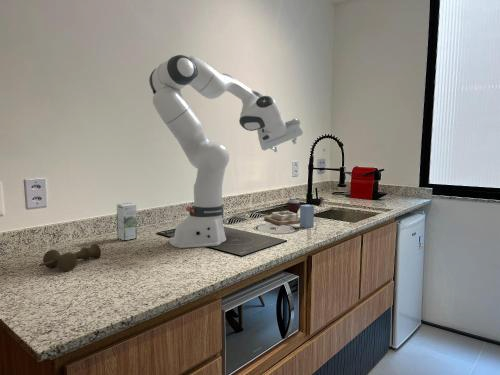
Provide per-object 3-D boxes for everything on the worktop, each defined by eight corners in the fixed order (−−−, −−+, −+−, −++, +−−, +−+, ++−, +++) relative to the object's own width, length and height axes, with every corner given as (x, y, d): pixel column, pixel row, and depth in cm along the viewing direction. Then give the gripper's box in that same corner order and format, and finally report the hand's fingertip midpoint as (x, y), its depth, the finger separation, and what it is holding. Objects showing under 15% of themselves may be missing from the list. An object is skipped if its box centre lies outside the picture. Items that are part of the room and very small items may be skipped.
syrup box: (130, 236, 157) (129, 202, 156) (137, 239, 153) (136, 203, 152) (117, 239, 153) (116, 203, 152) (124, 241, 149) (122, 205, 148)
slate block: (306, 228, 174) (306, 206, 173) (299, 226, 178) (300, 205, 176) (313, 227, 176) (314, 205, 175) (307, 225, 180) (307, 204, 179)
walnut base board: (279, 225, 179) (279, 217, 179) (264, 219, 192) (264, 212, 192) (305, 222, 186) (305, 214, 185) (289, 217, 199) (289, 209, 198)
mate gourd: (302, 214, 207) (302, 187, 206) (291, 215, 203) (291, 188, 201) (293, 212, 213) (293, 185, 212) (282, 213, 209) (282, 186, 207)
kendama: (107, 261, 126) (49, 277, 109) (88, 257, 131) (30, 272, 114) (106, 243, 126) (48, 257, 109) (88, 240, 131) (29, 253, 114)
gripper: (296, 113, 167) (304, 133, 177) (253, 131, 171) (264, 150, 181) (300, 122, 163) (308, 142, 173) (256, 140, 167) (267, 159, 177)
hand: (285, 146), depth 177 cm, fingers open, 8 cm apart
